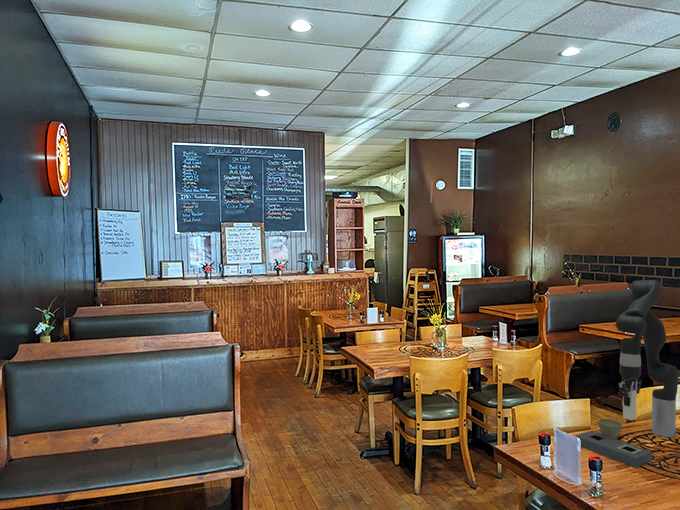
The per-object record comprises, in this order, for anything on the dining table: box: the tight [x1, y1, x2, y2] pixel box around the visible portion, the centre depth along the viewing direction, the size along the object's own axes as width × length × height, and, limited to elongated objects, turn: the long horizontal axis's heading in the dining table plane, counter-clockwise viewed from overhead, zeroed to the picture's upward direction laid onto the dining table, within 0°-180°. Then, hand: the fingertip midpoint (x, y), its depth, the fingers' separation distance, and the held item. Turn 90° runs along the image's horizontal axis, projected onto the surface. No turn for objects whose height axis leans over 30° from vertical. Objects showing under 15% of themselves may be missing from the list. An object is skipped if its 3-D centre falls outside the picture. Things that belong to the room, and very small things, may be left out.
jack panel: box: [575, 430, 653, 469], centre depth 205 cm, size 12×26×4 cm, turn 30°
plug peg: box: [621, 388, 637, 421], centre depth 199 cm, size 3×4×12 cm
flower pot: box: [597, 417, 623, 439], centre depth 221 cm, size 10×10×7 cm
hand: (629, 404), depth 199 cm, fingers closed on plug peg, 3 cm apart
